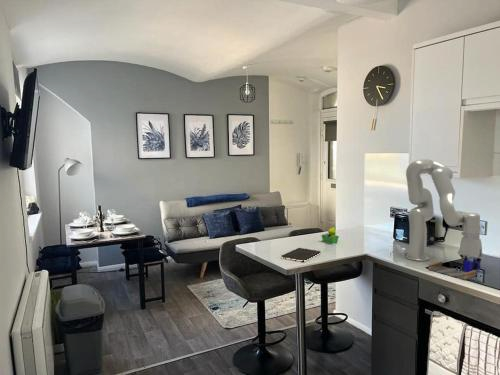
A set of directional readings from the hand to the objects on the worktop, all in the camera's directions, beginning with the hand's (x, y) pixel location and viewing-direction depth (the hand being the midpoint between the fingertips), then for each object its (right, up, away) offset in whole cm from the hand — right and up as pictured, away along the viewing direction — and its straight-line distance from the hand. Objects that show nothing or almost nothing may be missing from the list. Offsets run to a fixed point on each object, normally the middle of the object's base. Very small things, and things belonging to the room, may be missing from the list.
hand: (470, 267), depth 208 cm
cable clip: (0, -1, 0) cm, 1 cm away
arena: (-13, -2, -5) cm, 14 cm away
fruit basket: (-63, +4, +66) cm, 91 cm away
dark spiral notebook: (-89, 0, +32) cm, 95 cm away
